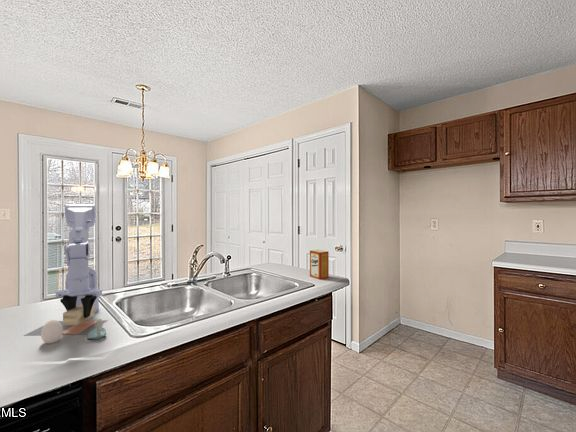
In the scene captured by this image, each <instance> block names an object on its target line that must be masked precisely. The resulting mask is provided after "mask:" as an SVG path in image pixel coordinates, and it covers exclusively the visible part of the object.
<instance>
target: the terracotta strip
mask: <svg viewBox="0 0 576 432" xmlns="http://www.w3.org/2000/svg"><path fill="white" fill-rule="evenodd" d="M97 322H98V320H85V321H83V322H81V323H80V324H78V325H74V326H72V327H70V328H68V329H67V330H65V331H63V334H79V333H80V332H82V331H84V330H85V329H87V328H88V327H90V326H92V325H93V324H95V323H97Z"/></svg>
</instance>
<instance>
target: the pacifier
mask: <svg viewBox="0 0 576 432" xmlns="http://www.w3.org/2000/svg"><path fill="white" fill-rule="evenodd" d="M102 320H103V319H102V318H99V319H98V320H97V321H98V324H97V328H96V329H94V330H92V331H91V332H90V333H88V334H87V335H86V336H85V338H84V341H85V342H87V343H89V342H90V343H91V342H95V341H97V340H99V339H101V338H103V337H106V336H107V330H106V328H104V327H103V325H104V323H103V321H102ZM89 339H93V340H89Z"/></svg>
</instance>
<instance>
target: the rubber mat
mask: <svg viewBox="0 0 576 432" xmlns="http://www.w3.org/2000/svg"><path fill="white" fill-rule="evenodd" d="M58 321H59V322H60V323H61V325H62V327H63V331H65V330H67V329H68V328H70V327H72V326H74V325H63V320H58ZM102 321H103V324H105V323H107V322H108V320H107V319H106V320H105V319H104V320H103V319H102ZM97 324H98V322H97V323H95V324H93V325H92V326H90V327H88V328H87V329H85V330H84V331H82V332H80V333H79V334H62V336H88V335H89V333H90V332H91V331H92V330H94V329H96V328H97ZM43 326H44V325H42V326H40V327H38V328H35V329H33V330H32V331H30V332H28V333H26V334H24V335H23V336H24V337H29V336H30V337H31V336H32V337H33V336H35V337H36V336H37V337H38V336H40V337H41V331H42V328H43Z"/></svg>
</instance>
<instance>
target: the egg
mask: <svg viewBox="0 0 576 432" xmlns="http://www.w3.org/2000/svg"><path fill="white" fill-rule="evenodd" d="M59 321H60V320H57V319H50V320H48V321H47V322H45V323H44V325H42V326H43V328H42V331H41V336H40V337H41V340H42V341H43V342H44V343H45V344H48V345H49V344H50V345H51V344H55V343H57V342H59V341H60V339H61V338H62V336H63V335H62V334H63V327H62V325H61V323H60V322H59Z"/></svg>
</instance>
